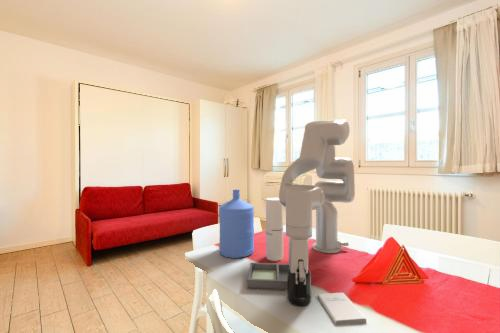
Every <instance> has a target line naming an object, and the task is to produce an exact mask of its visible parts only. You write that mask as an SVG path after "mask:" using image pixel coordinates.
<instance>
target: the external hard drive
mask: <svg viewBox="0 0 500 333" xmlns="http://www.w3.org/2000/svg"><path fill="white" fill-rule="evenodd" d="M317 298H318V300H319V301H320V303H321V304H322V306H323V307H324V309H325V310H326V312H327V314H328V315H329V317H330V318H331V320H332V321H333V323H334V324H335V325H348V324H347V323H350V324H360V323H367V318H366V317H365V316H364V314H363V313H362V312H361V311H360V310H359V309H358V307H356V305H355V304H354V303H353V302H352V301H351V300H350V298H348V296H347V295H346V294H345V293H344V292H332V293H319V294H318V295H317Z"/></svg>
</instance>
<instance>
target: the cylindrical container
mask: <svg viewBox="0 0 500 333" xmlns="http://www.w3.org/2000/svg"><path fill="white" fill-rule="evenodd" d="M265 229H266V230H265V245H266V246H265V247H266V249H265V250H266V251H265V253H266V254H265V256H266V257H265V258H266V259H267V260H269V261H272V262H278V260H280V261H283V259H284V206H283V205H282V204H281V203H280V201H279V197H266V198H265Z"/></svg>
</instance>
